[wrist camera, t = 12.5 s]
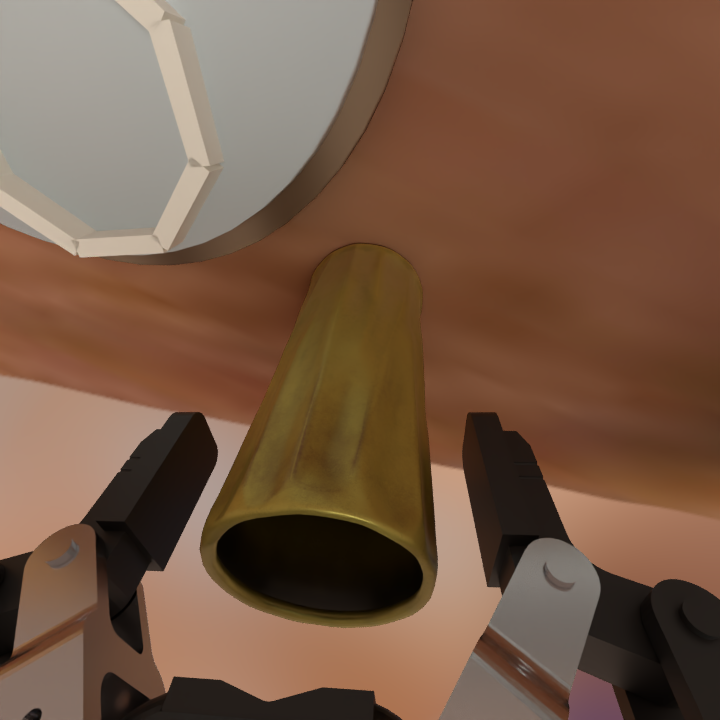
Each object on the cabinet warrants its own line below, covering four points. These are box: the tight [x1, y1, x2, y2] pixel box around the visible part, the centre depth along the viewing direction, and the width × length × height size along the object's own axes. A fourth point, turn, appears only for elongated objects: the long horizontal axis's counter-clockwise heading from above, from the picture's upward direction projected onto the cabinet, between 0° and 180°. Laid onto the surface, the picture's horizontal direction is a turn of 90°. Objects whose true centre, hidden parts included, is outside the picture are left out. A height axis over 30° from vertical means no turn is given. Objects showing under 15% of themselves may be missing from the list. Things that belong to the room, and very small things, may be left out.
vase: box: [200, 244, 438, 628], centre depth 14 cm, size 6×6×14 cm
